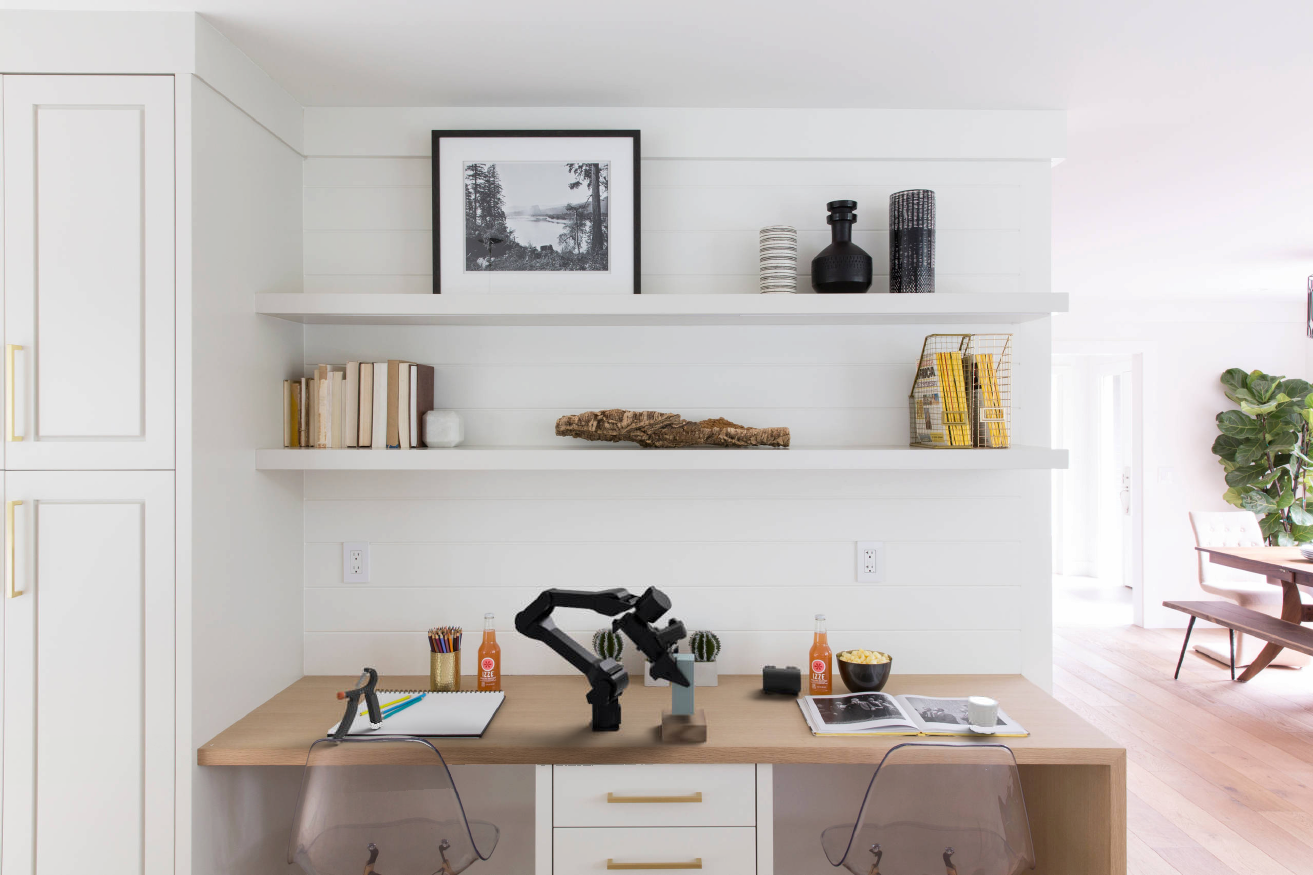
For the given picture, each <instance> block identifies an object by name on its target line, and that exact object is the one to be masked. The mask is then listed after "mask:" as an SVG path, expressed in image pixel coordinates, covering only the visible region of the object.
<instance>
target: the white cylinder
mask: <svg viewBox="0 0 1313 875" xmlns="http://www.w3.org/2000/svg"><path fill="white" fill-rule="evenodd" d="M966 704H967V715H968V723H969V722H971V723H972V724H974V725H977V726H980V727H993V726H995V725H996V726H997V720H998V719H997V718H998V709H999V701H998V700H996V699H995V698H993V697H989V696H985V695H971V696H967V697H966Z"/></svg>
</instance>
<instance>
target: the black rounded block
mask: <svg viewBox="0 0 1313 875" xmlns="http://www.w3.org/2000/svg"><path fill="white" fill-rule="evenodd" d="M762 691H763V693H765V694H778V695H779V694H780V695H781V694H783V695H799V694H800V693H801V692H802V672H801V669H800V668H798V667H797V666H794V665H793V666H789V665H787V666H786V667H785V668H783V667H782V668H780V667H779V668H778V667H776V665H765V666H764V667H763V668H762Z"/></svg>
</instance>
